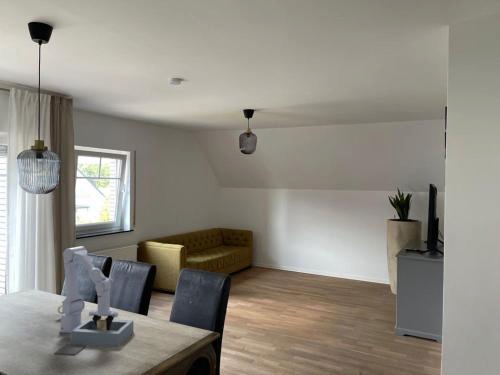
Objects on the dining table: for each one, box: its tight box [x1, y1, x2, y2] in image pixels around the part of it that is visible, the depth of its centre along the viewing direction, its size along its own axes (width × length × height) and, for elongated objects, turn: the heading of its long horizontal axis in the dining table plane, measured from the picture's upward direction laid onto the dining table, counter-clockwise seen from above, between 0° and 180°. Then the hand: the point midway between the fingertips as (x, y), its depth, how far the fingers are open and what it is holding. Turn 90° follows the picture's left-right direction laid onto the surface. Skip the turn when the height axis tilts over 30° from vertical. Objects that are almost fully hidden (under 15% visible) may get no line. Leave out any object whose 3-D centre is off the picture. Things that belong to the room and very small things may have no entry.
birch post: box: [97, 317, 110, 331], centre depth 194 cm, size 4×4×7 cm
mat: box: [53, 343, 87, 356], centre depth 179 cm, size 10×10×1 cm
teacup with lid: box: [57, 299, 64, 316], centre depth 224 cm, size 12×9×12 cm
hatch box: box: [70, 317, 134, 347], centre depth 194 cm, size 24×18×6 cm
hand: (103, 330), depth 194 cm, fingers closed on birch post, 4 cm apart
